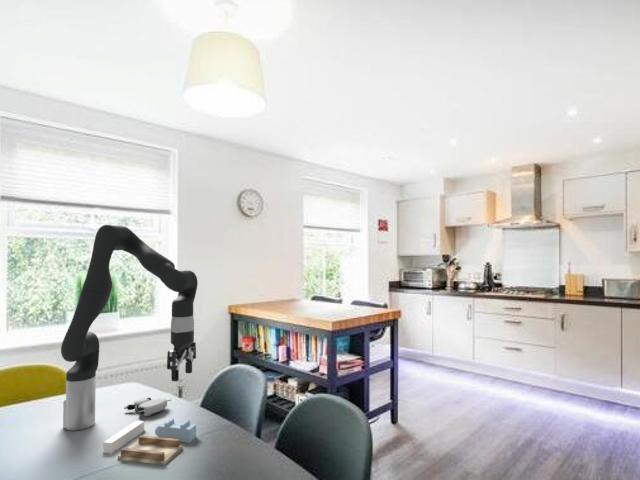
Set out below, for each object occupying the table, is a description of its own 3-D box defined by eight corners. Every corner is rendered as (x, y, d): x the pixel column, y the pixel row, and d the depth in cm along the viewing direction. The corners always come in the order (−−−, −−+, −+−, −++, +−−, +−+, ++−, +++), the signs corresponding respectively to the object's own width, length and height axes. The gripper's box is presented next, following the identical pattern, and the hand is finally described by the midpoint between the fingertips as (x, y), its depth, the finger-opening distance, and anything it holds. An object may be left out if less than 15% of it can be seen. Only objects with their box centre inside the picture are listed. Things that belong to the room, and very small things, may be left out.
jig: (117, 459, 118) (117, 449, 118) (138, 444, 127) (138, 434, 127) (164, 465, 115) (164, 454, 115) (182, 448, 124) (182, 439, 124)
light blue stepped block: (152, 439, 131) (152, 422, 131) (159, 433, 135) (159, 417, 135) (189, 443, 128) (189, 425, 128) (196, 437, 132) (196, 420, 132)
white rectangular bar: (103, 453, 122) (103, 442, 122) (136, 430, 138) (136, 420, 138) (111, 454, 122) (111, 443, 122) (144, 431, 137) (144, 421, 137)
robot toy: (121, 415, 152) (145, 421, 145) (121, 403, 153) (145, 408, 145) (149, 404, 163) (173, 409, 155) (149, 393, 163) (172, 397, 156)
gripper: (183, 324, 141) (183, 370, 140) (160, 332, 127) (159, 383, 126) (202, 325, 139) (202, 371, 139) (181, 333, 125) (180, 384, 125)
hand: (182, 376), depth 133 cm, fingers open, 8 cm apart
